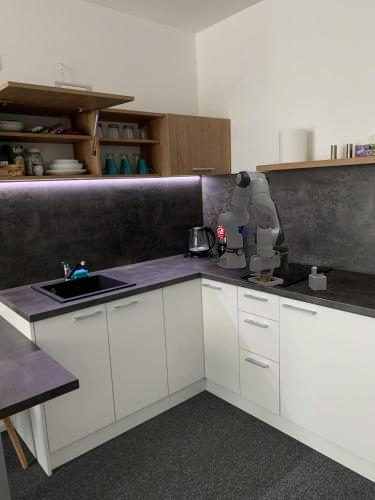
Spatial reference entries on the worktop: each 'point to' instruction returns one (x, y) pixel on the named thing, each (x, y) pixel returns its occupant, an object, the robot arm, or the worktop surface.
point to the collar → (264, 277)
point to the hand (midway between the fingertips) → (265, 276)
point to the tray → (268, 284)
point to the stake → (255, 274)
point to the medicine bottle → (317, 278)
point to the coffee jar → (282, 260)
